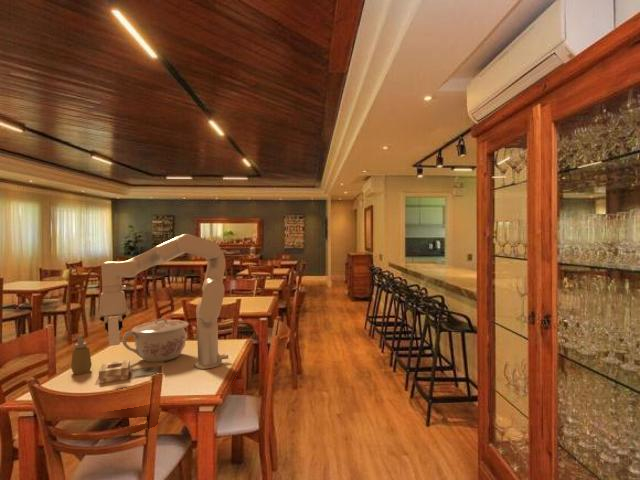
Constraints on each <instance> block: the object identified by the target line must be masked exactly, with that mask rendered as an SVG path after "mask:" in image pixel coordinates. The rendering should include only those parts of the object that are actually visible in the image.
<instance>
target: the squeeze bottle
mask: <svg viewBox="0 0 640 480" xmlns="http://www.w3.org/2000/svg"><path fill="white" fill-rule="evenodd" d="M87 345H88V344H87V342H86V341H84V339H83V335H78V339H77V342H76V343H75V344H74V348H73V349H72V351H71V366H70V369H71V371H72V374H73V375H74V376H75V375H76V376H80V375H86V374H87V373H90V371H91V368H92V364H93V363H92V358H91V353H90V352H91V351H90V347H89V346H87Z"/></svg>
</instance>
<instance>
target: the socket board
mask: <svg viewBox="0 0 640 480" xmlns="http://www.w3.org/2000/svg"><path fill="white" fill-rule="evenodd" d="M130 365H131V361H130V360H129V359H128V360H122V361H121V360H119V361H114V362H105V363H102V364H101V365H100V368H99V369H98V370H99V371H98V377H97V379H96V381H95V383H94V386H97V385H104V384H110V383H116V382H117V383H118V382H123V381H128V380H136V379H141V378H148V377H153V376H152V375H154V374H157V373H162V369H163V368H162V365H155V366H150V367H148V366H147V367H144V368H141V367H140V368H136V369H135V368H134V369H131V367H130ZM162 374H163V373H162Z"/></svg>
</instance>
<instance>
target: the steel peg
mask: <svg viewBox="0 0 640 480" xmlns="http://www.w3.org/2000/svg"><path fill="white" fill-rule="evenodd" d="M118 322H119V317H118V315H113V316H108V332H107V333H108V347H112V346H120V344H121V330H120V331H119V323H118Z"/></svg>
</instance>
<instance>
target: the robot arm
mask: <svg viewBox="0 0 640 480" xmlns="http://www.w3.org/2000/svg"><path fill="white" fill-rule="evenodd" d="M184 254H189V255H192V256H197V257H200V258H204V259H206V261H207V263H206V265H207V266H206V272H205V277H204V280H203V284H202V286H201V290H202V296H201V300H200V301H199V302H198V303H197V305H196V310H195V315H196V331H197V332H196V333H197V335H196V336H197V338H196V339H197V340H196V341H197V361H196V362H195V363H194V367H195V368H196V369H199V370H202V369H203V370H206V369H213V368H217V367H220V366H221V365H222V364H223V360H228V359H229V354H226V353H224V354H220V353H219V338H218V337H219V334H218V332H219V329H218V319H219V316H220V314H221V309H222V305H223V302H224V301H223V300H224V296H225V293H226V292H225V284H224V283H223V282H224V276H225V271H226V257H225V255H224V253H223V251H222V249H221V247H220V245H219V243H217V242H216V241H213V240H209V239H206V238H203V237H199V236H196V235H193V234H189V233H183V234H181V235H178V236H175V237H174V238H171V239H169V240H167V241H165V242H163V243H160V244H158V245H155V246H154V247H152V248H151V249H149V250H147V251H145V252H143V253H141V254H138V255H137V256H134V257H132V258H130V259H128V260H124V261H117V260H116V261H114V260H113V261H104V262H102V264H101V287H102V288H101V290H102V292H101V293H100V296H99V297H100V298H99V310H98V311H97V313H96V314H95V316H94V318H96V319H98V320H100V321H102V322H103V323H104V331H105V330H106V332H107V333H108V318H109V317H112V316H118V317H119V322H118V323H119V331H120V332H121V330H122V329H123V328H124V327H123V320H125V318H126V317H128V316H129V315H130V314H131V313H132V312H131V310H130V309H129V307H127V301H126V295H125V291H123V290H125V289H126V285H122V283H123V282H122V278H133V277H135V276H137V275H138V274H139V273H141V272H143V271H146V270H147V269H149V268H152V267H155V266H157V265H163V264H164V263H167V262H169V261H172V260H173V259H176V258H177V257H180V256H182V255H184Z"/></svg>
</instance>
